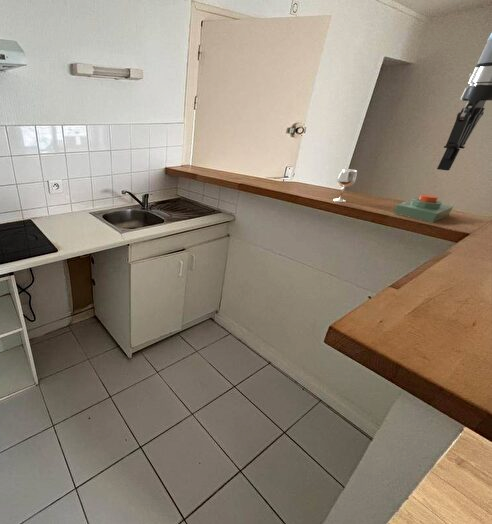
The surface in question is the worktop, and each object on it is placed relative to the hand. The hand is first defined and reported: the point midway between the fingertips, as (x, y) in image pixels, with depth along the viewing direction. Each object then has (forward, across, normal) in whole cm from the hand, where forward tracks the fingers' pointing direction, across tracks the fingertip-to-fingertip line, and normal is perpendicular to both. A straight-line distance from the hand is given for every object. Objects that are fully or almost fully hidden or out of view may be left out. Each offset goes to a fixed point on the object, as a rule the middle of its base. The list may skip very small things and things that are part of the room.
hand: (443, 169), depth 92 cm
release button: (+11, 0, 0) cm, 11 cm away
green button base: (+15, 0, 0) cm, 15 cm away
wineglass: (+16, +7, -24) cm, 30 cm away
